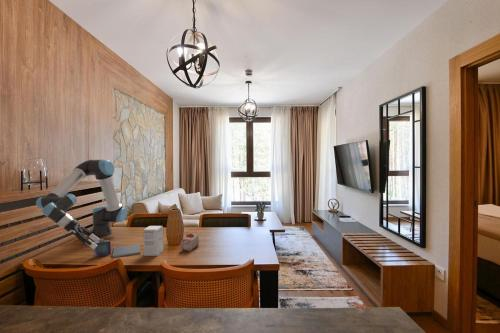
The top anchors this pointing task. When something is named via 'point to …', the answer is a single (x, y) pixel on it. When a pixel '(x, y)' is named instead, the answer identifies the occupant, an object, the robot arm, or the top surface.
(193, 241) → the food item
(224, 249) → the top surface
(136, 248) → the slate board
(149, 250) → the supplement box
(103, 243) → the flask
